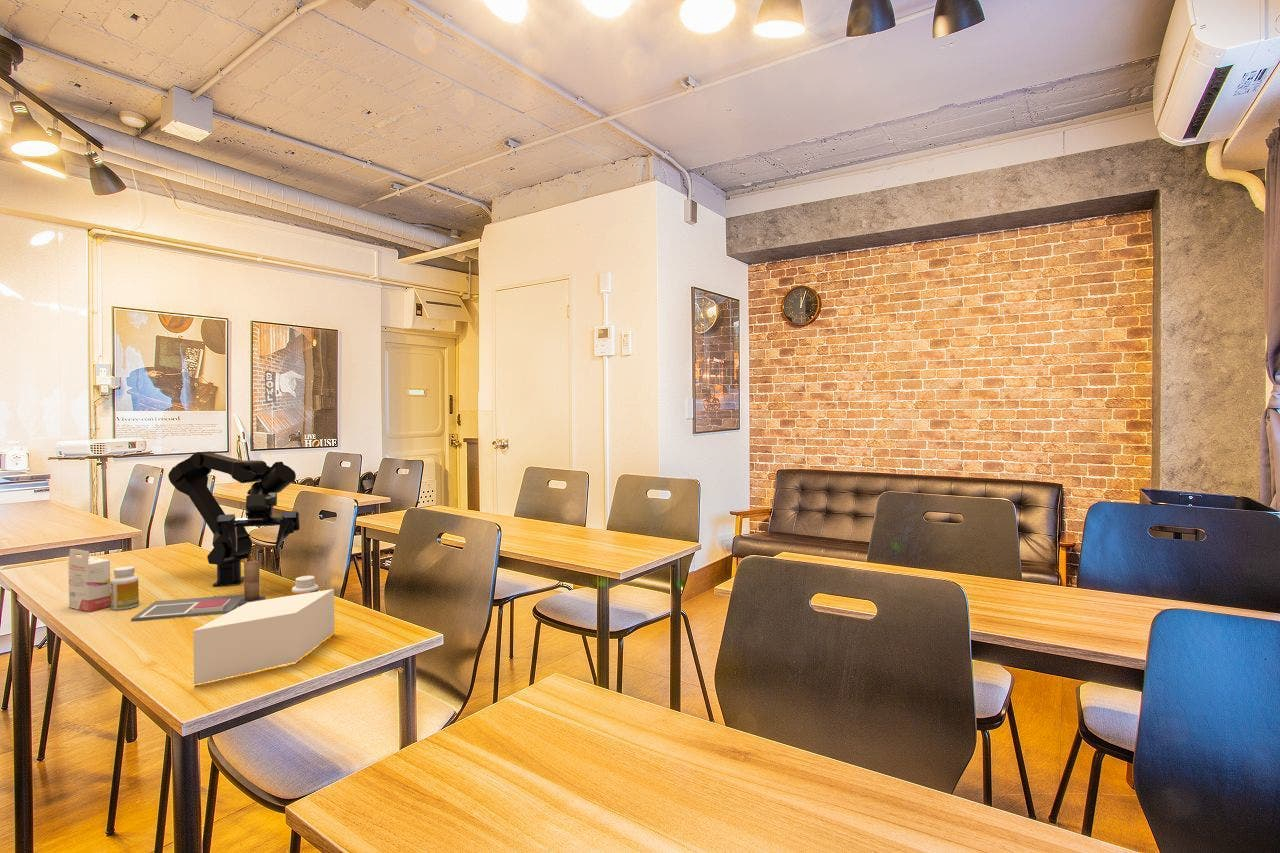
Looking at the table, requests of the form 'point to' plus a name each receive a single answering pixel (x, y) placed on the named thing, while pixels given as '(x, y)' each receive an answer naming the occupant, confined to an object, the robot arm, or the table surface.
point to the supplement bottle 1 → (124, 588)
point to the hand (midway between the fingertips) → (256, 549)
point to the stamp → (251, 583)
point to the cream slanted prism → (262, 635)
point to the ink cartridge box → (88, 582)
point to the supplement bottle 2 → (305, 585)
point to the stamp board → (189, 607)
